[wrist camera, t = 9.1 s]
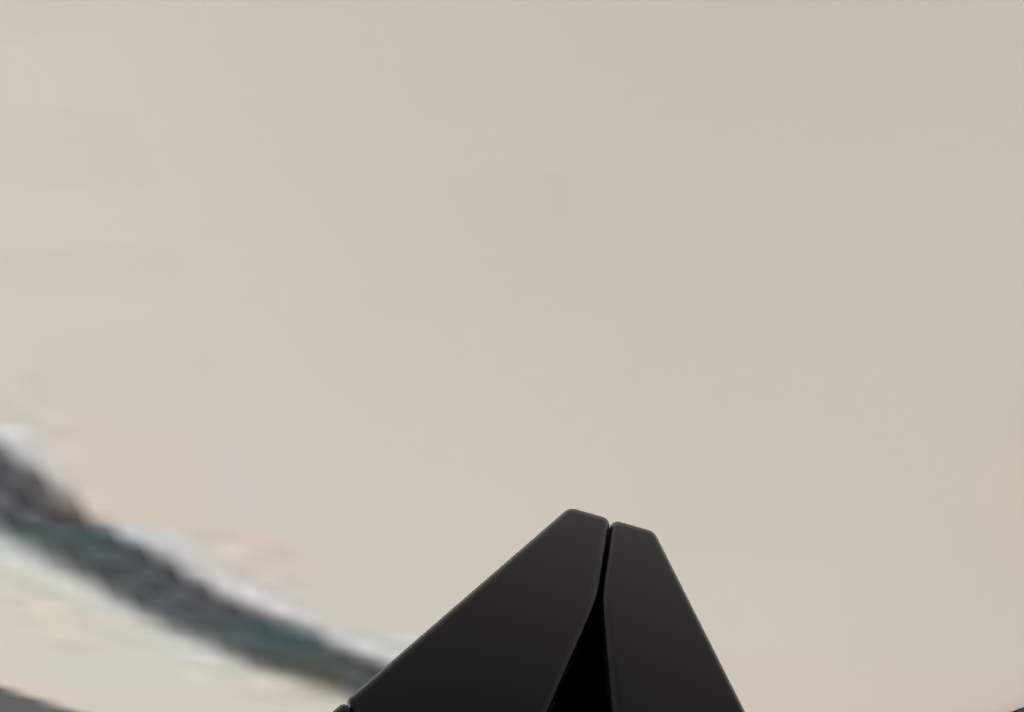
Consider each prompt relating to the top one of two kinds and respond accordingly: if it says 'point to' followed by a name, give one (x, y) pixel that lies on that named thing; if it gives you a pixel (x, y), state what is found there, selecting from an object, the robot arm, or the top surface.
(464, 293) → the top surface
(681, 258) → the top surface
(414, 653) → the robot arm
